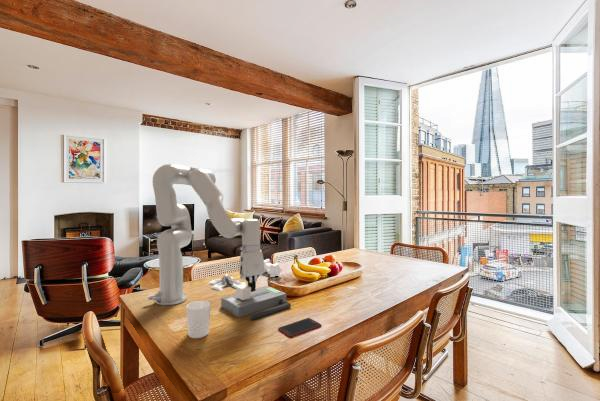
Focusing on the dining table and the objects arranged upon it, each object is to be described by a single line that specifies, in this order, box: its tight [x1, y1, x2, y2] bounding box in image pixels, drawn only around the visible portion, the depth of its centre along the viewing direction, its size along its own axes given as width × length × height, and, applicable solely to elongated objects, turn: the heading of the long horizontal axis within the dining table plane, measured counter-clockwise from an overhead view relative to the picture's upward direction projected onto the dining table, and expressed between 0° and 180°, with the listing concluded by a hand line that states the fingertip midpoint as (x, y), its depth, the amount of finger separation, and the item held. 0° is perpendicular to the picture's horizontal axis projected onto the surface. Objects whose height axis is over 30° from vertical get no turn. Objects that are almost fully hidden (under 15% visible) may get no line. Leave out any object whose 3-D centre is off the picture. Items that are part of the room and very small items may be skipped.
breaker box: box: [220, 285, 287, 318], centre depth 129 cm, size 24×14×4 cm, turn 133°
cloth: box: [207, 273, 247, 291], centre depth 156 cm, size 22×19×6 cm
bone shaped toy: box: [263, 258, 283, 278], centre depth 174 cm, size 15×9×8 cm, turn 32°
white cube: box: [235, 284, 251, 300], centre depth 125 cm, size 4×5×4 cm
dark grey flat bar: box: [249, 300, 292, 321], centre depth 122 cm, size 20×6×2 cm, turn 133°
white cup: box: [185, 300, 212, 339], centre depth 102 cm, size 8×8×10 cm
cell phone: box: [277, 317, 322, 339], centre depth 108 cm, size 8×15×1 cm, turn 128°
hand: (251, 290), depth 128 cm, fingers closed
